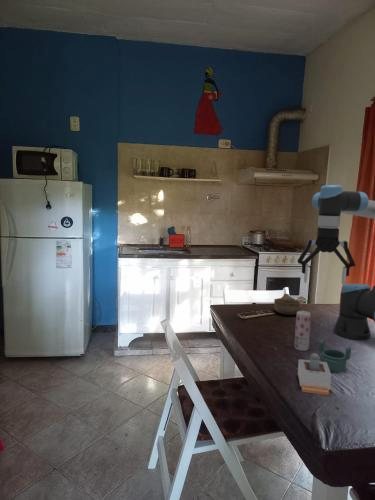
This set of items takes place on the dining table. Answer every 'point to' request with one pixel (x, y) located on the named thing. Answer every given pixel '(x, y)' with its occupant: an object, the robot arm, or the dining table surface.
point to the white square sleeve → (314, 375)
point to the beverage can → (302, 330)
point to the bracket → (334, 357)
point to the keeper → (314, 367)
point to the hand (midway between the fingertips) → (324, 283)
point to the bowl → (286, 305)
